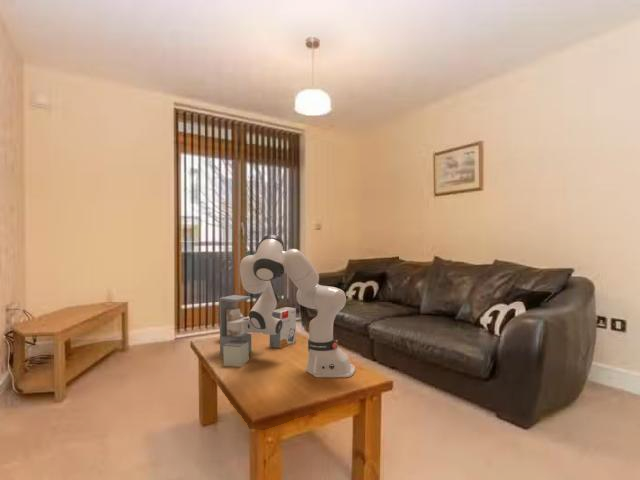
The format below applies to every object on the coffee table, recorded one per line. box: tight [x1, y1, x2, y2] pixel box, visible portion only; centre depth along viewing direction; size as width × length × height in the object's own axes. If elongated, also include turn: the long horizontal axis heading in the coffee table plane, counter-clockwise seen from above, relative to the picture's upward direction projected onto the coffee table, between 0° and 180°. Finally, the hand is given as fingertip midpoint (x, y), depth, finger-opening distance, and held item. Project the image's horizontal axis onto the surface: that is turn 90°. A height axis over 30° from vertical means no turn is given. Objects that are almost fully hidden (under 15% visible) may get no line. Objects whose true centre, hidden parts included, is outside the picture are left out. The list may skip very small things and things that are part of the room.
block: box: [226, 307, 241, 336], centre depth 193 cm, size 5×5×14 cm
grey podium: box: [218, 294, 252, 356], centre depth 192 cm, size 12×11×30 cm
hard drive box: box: [269, 306, 297, 349], centre depth 206 cm, size 16×8×20 cm, turn 148°
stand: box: [223, 340, 250, 368], centre depth 177 cm, size 9×9×10 cm
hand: (234, 320), depth 192 cm, fingers open, 8 cm apart
